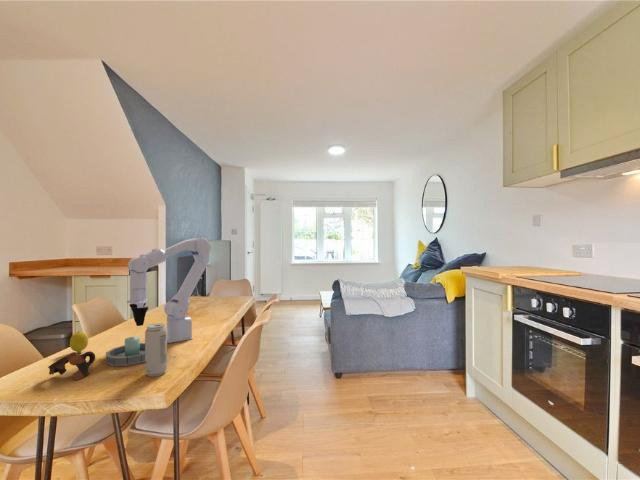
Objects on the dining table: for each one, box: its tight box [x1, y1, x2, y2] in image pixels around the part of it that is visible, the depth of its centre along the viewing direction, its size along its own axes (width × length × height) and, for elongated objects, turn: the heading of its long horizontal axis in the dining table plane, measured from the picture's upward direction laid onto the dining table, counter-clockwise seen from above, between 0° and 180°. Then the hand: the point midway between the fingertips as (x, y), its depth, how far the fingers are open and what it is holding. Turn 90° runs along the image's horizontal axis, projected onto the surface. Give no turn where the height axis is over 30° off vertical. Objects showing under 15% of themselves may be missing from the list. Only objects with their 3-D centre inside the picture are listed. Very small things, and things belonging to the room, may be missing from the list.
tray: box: [105, 342, 145, 368], centre depth 116 cm, size 16×16×3 cm
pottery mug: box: [47, 351, 96, 382], centre depth 102 cm, size 12×10×8 cm
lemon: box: [69, 330, 89, 353], centre depth 122 cm, size 6×6×8 cm
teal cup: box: [124, 336, 141, 357], centre depth 116 cm, size 5×5×6 cm
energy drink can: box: [144, 322, 168, 378], centre depth 102 cm, size 6×6×15 cm
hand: (138, 323), depth 127 cm, fingers open, 7 cm apart
